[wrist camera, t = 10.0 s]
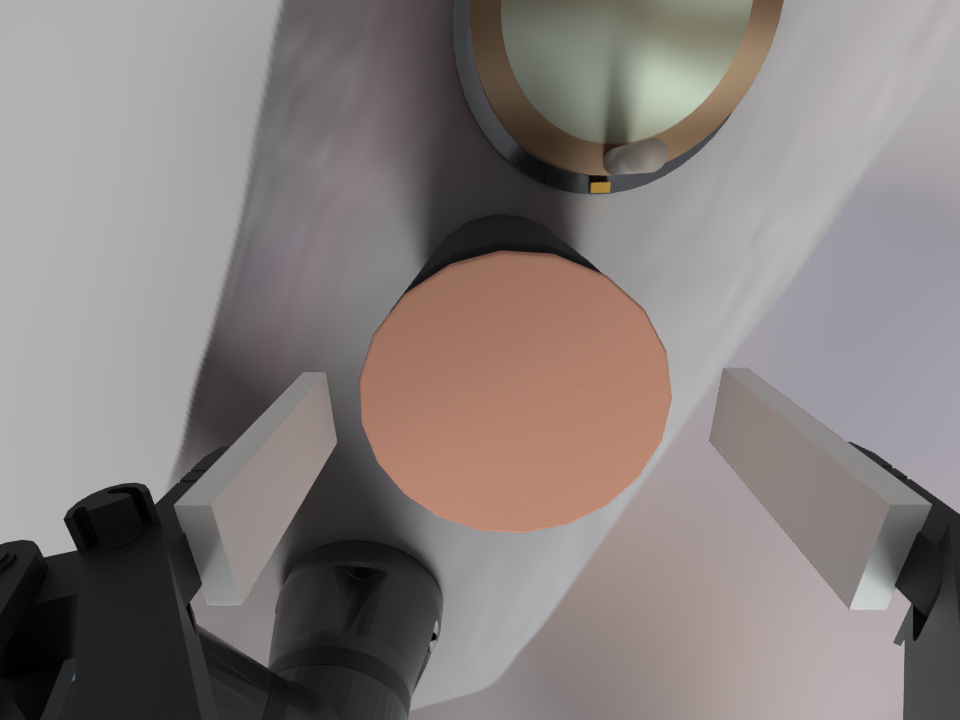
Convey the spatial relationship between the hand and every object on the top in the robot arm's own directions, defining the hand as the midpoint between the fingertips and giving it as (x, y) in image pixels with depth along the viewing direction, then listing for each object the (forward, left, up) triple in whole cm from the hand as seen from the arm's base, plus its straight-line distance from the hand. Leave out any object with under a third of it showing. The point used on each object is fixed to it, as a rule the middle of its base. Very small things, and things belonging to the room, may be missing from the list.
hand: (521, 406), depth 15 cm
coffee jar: (0, 0, -18) cm, 18 cm away
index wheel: (+14, +9, -18) cm, 24 cm away
